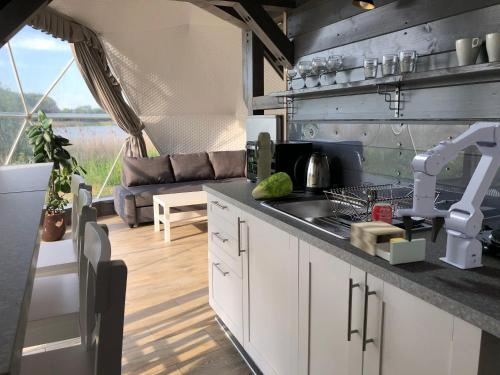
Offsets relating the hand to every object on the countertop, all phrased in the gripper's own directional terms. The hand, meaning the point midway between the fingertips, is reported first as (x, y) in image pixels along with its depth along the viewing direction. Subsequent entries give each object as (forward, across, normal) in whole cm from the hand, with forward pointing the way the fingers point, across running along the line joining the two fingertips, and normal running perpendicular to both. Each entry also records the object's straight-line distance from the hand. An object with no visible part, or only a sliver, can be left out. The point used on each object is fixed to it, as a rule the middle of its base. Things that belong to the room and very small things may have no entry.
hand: (421, 241), depth 127 cm
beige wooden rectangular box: (+8, +10, -19) cm, 23 cm away
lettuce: (+9, +57, -104) cm, 119 cm away
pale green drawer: (+8, +6, -11) cm, 15 cm away
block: (+7, +5, -9) cm, 12 cm away
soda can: (+9, +7, -36) cm, 37 cm away
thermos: (+9, +63, -122) cm, 138 cm away
